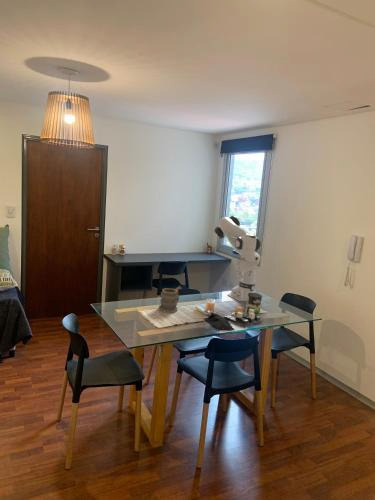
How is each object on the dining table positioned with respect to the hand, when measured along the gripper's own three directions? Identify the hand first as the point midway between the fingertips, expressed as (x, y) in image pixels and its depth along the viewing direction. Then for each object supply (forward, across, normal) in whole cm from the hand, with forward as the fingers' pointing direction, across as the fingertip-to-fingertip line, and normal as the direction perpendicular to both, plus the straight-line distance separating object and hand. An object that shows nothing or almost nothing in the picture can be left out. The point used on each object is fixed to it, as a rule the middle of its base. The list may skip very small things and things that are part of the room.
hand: (245, 277), depth 253 cm
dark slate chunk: (+30, -24, -2) cm, 38 cm away
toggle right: (+25, +3, -8) cm, 26 cm away
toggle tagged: (+25, -4, -12) cm, 28 cm away
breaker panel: (+29, -4, -6) cm, 30 cm away
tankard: (+29, -33, +36) cm, 57 cm away
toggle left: (+25, -10, -8) cm, 28 cm away
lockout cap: (+27, -4, -2) cm, 27 cm away
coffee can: (+29, +15, 0) cm, 33 cm away
